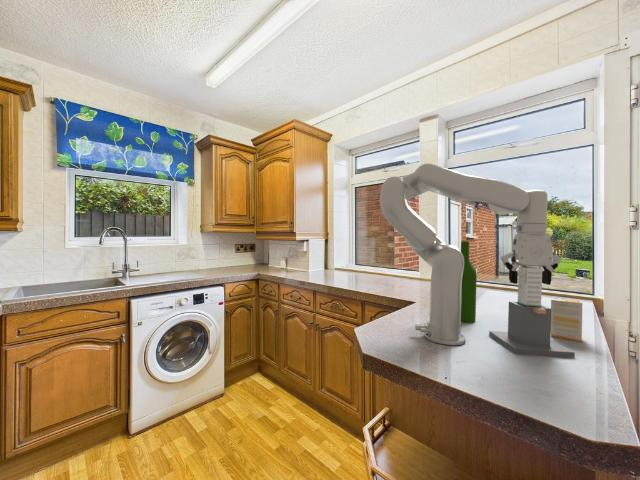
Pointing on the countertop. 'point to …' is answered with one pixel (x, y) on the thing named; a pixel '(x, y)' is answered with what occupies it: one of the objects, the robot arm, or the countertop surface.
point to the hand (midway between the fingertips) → (529, 283)
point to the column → (529, 286)
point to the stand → (530, 332)
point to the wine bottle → (468, 287)
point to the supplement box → (566, 319)
